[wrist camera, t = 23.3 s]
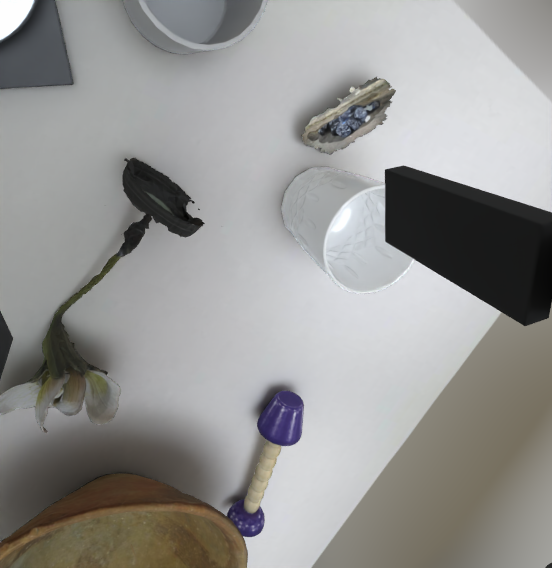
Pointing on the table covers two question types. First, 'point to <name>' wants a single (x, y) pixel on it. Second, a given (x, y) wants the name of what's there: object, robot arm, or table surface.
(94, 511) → the bowl
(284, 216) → the white cup
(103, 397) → the artificial flower
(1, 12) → the scale pan
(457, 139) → the table surface
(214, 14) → the cup
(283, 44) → the table surface
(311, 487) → the table surface
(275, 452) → the toy lamp
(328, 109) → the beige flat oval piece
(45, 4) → the scale
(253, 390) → the table surface
